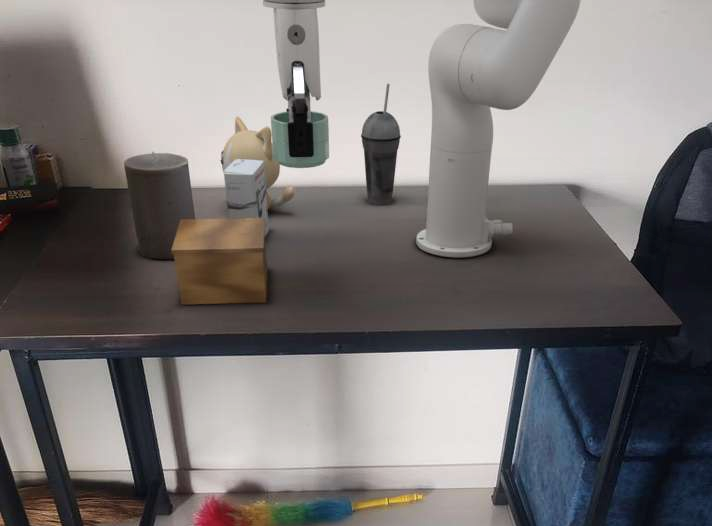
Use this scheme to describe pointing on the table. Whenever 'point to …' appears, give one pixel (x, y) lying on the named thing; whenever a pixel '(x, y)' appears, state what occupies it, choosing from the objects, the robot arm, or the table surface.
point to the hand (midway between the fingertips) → (300, 147)
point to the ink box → (246, 190)
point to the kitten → (255, 157)
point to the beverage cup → (380, 154)
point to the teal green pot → (282, 145)
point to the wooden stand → (221, 260)
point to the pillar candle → (158, 200)
